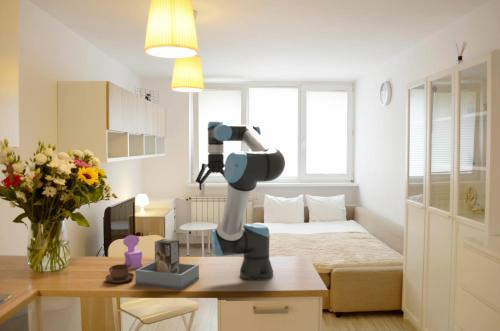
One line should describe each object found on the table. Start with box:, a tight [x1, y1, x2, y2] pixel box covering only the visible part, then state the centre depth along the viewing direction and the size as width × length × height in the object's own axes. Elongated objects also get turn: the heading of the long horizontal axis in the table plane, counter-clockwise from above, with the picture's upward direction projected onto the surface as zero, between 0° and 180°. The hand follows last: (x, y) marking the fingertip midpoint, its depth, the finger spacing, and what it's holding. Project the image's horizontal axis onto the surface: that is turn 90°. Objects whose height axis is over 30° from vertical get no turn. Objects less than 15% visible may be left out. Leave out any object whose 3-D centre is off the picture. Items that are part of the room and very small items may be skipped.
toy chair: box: [122, 234, 143, 270], centre depth 204 cm, size 8×9×15 cm
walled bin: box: [134, 260, 200, 290], centre depth 181 cm, size 22×16×6 cm
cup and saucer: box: [104, 263, 135, 284], centre depth 182 cm, size 12×12×6 cm
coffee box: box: [154, 238, 180, 274], centre depth 181 cm, size 9×6×16 cm
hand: (215, 197), depth 203 cm, fingers open, 13 cm apart
